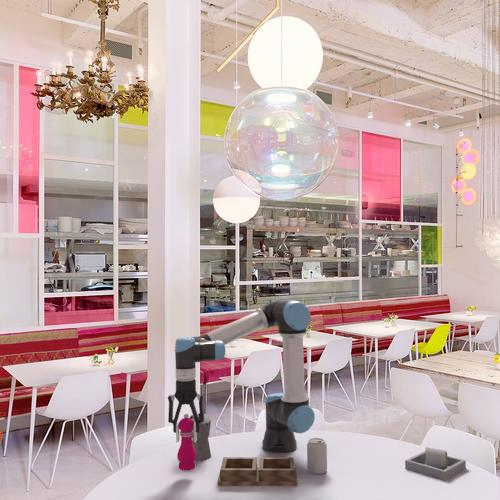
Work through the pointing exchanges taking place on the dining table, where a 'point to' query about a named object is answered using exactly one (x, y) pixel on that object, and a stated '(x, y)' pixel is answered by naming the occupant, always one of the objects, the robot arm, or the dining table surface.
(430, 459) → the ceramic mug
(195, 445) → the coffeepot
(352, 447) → the dining table surface
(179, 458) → the pepper mill
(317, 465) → the can
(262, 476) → the wooden divided tray
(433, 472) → the frame
